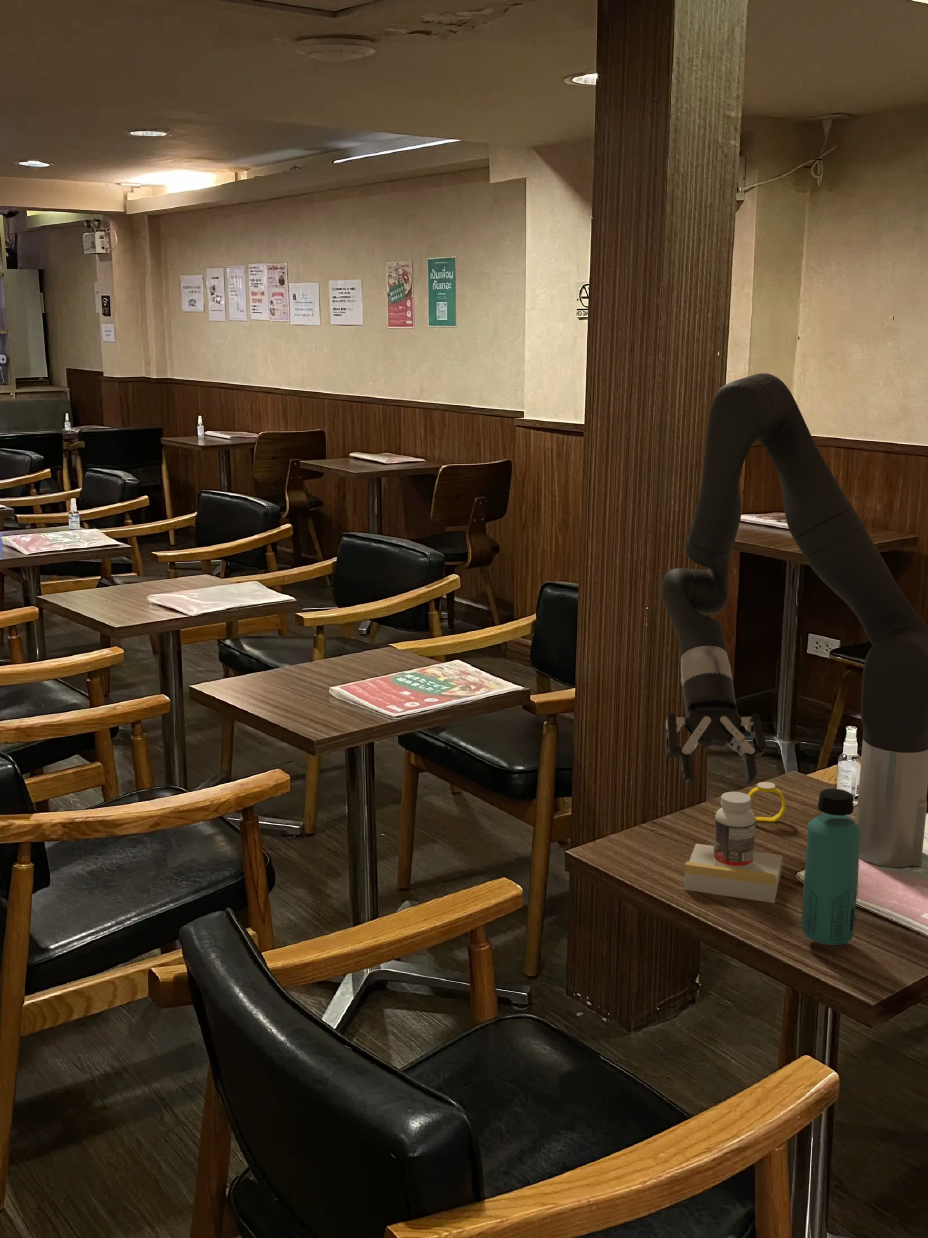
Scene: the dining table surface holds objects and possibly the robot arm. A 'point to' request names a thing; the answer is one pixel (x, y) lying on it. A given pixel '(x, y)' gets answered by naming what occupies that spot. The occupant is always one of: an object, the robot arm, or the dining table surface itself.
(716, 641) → the robot arm
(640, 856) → the dining table surface
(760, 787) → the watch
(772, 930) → the dining table surface
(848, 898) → the beverage bottle
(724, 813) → the pill bottle
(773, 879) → the dock
